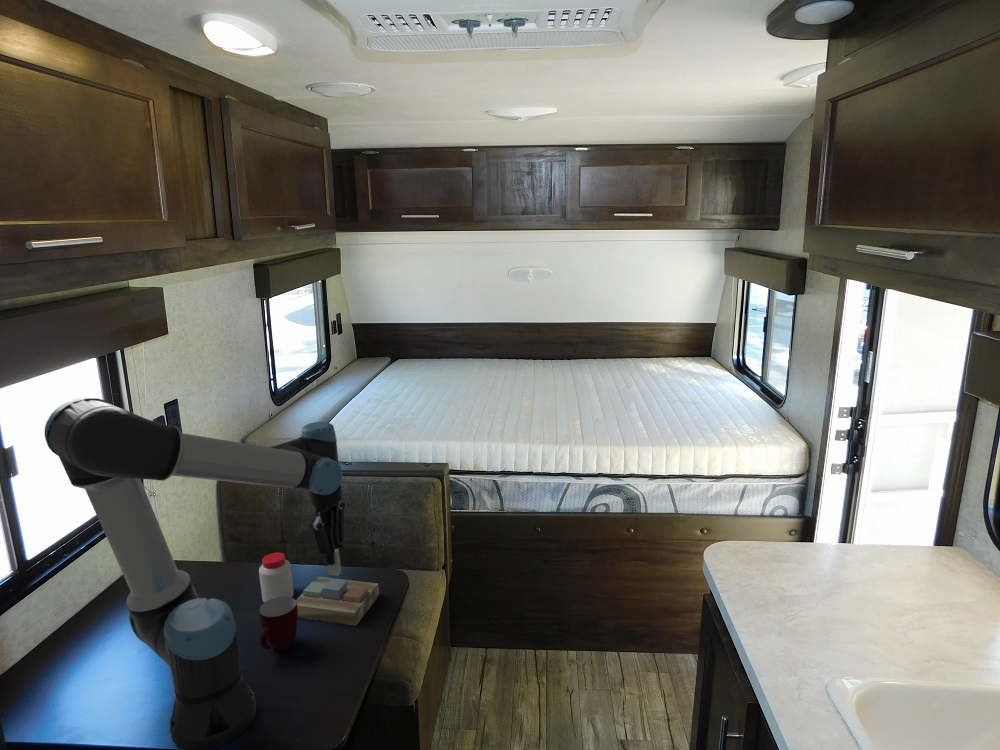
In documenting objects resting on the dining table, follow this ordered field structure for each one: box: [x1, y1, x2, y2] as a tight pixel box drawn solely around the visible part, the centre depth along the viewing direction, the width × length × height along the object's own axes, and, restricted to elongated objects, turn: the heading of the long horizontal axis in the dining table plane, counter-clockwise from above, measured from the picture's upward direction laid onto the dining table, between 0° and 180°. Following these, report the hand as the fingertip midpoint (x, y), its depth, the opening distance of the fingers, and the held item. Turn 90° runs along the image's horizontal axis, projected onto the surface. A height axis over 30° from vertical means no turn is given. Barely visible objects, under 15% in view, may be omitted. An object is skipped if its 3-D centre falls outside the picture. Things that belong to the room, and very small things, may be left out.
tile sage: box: [302, 581, 327, 598], centre depth 160 cm, size 4×4×3 cm
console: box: [295, 576, 380, 626], centre depth 159 cm, size 13×17×3 cm
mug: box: [258, 597, 298, 652], centre depth 142 cm, size 10×8×10 cm
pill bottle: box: [258, 552, 295, 604], centre depth 163 cm, size 8×8×11 cm
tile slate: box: [323, 578, 348, 601], centre depth 158 cm, size 4×4×3 cm
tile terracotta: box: [343, 586, 368, 603], centre depth 157 cm, size 4×4×3 cm
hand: (335, 573), depth 157 cm, fingers closed
